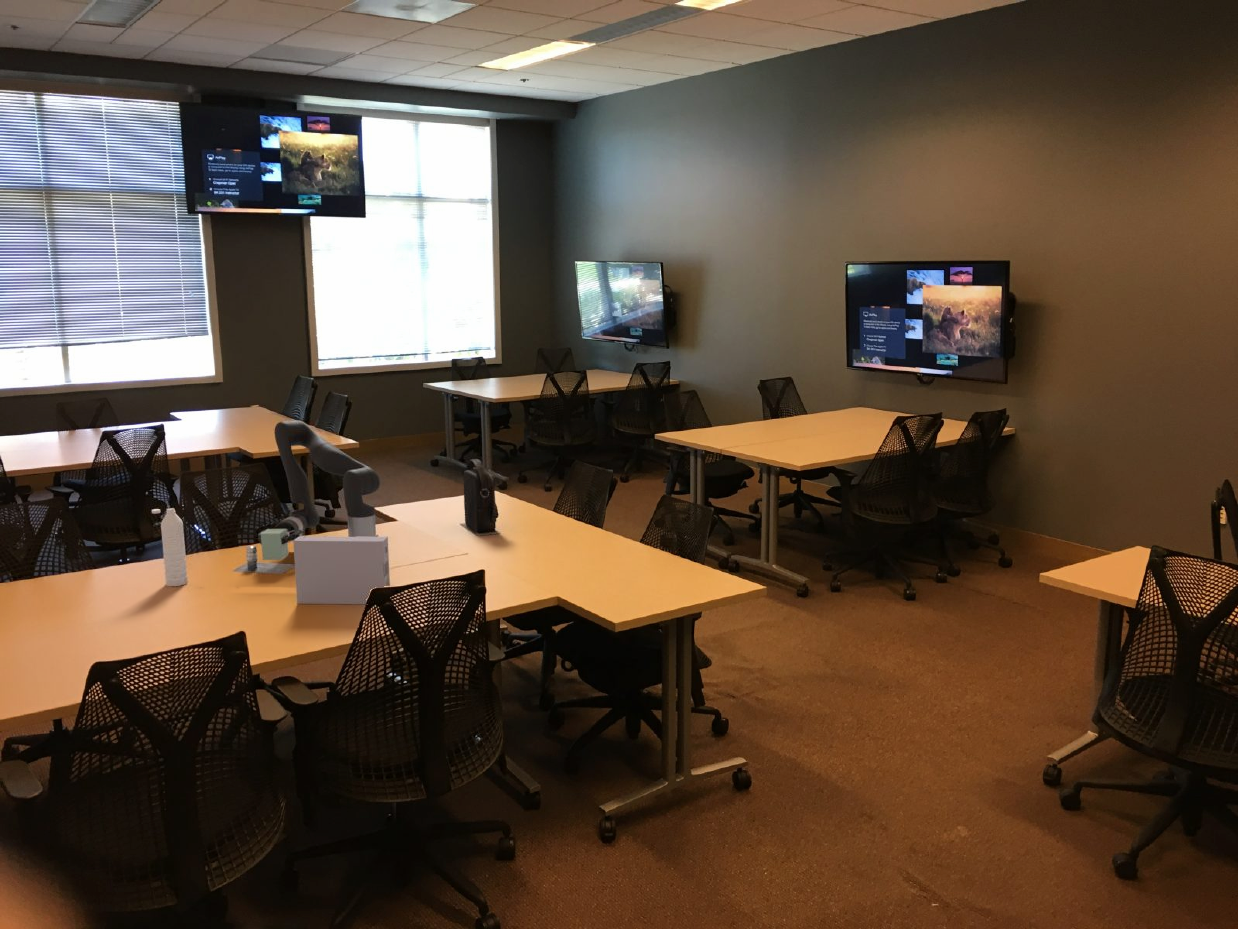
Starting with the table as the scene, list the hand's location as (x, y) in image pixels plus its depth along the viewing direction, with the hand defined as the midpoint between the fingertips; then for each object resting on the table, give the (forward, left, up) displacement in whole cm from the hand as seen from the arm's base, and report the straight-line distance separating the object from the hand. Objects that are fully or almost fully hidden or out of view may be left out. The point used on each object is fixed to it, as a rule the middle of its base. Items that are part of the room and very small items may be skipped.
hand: (272, 541), depth 327 cm
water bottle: (+27, +16, -12) cm, 33 cm away
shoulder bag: (-47, -72, -12) cm, 87 cm away
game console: (-35, +22, -12) cm, 43 cm away
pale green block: (0, -2, -6) cm, 6 cm away
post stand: (+5, -2, -11) cm, 13 cm away
